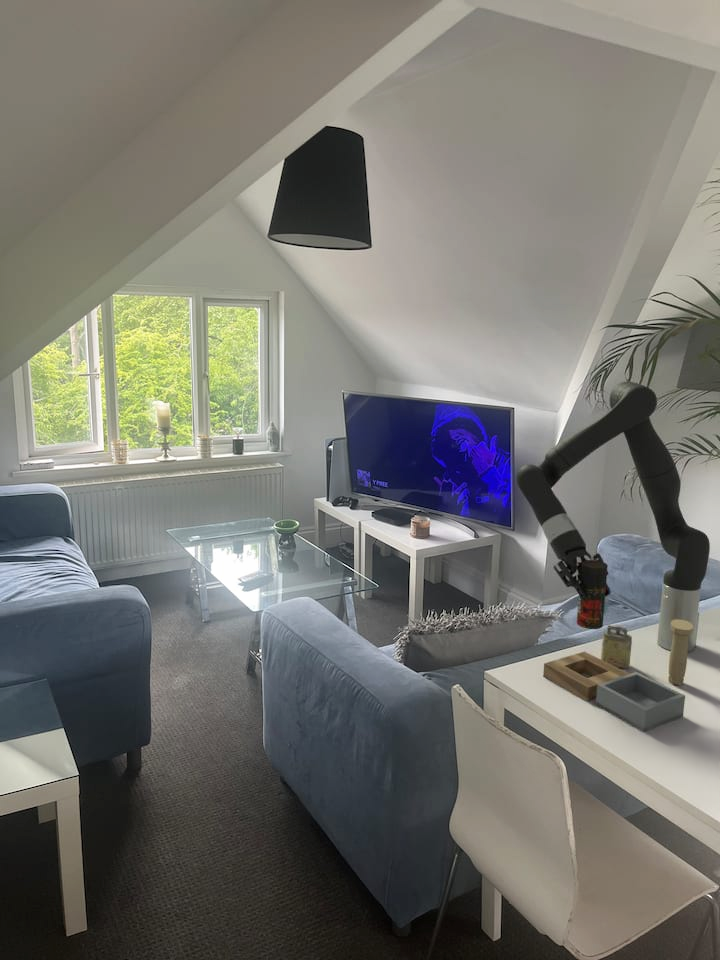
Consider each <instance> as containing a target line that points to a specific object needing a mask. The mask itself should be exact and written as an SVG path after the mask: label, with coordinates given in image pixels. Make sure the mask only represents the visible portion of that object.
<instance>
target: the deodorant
mask: <svg viewBox="0 0 720 960" xmlns="http://www.w3.org/2000/svg"><path fill="white" fill-rule="evenodd" d="M607 571H608V564H607V563H606V562H605V561H603V562H601V561H595V560H585V561H582V562H581V578H582V582H583V583H582V584H584V585H585V587H586V588H587V590H588V592H589V594H590V596H591V599H590V600H588V601H586V602H584V601H583V600H582V599H581V598H580V596H579V595H578V601H577V614H576V625H577V626H579V627H580V628H583V629H588V630H600V629H601V628H603V627H604V613H605V602H606V597H605V592H606V583H607V579H608V578H607V577H608V575H607Z"/></svg>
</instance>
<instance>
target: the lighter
mask: <svg viewBox="0 0 720 960" xmlns="http://www.w3.org/2000/svg"><path fill="white" fill-rule="evenodd" d="M612 630H614V631H612ZM622 632H623V633H622ZM602 635H603V636H602V641H601V653H600V654H601V655H600V659H601V660H603V661H605V662H607V663H609V664H611V665H613V666H615V667H617V668H619V669H621V668H622V669H628V668H630V667H631V654H632V653H631V652H632V645H633V640H632V639H633V636H632V635H630V634H628V630H627V628H625V627H622V626H621V625H616V626H613V625H607V629H606V631H603V634H602Z"/></svg>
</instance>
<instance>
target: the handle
mask: <svg viewBox="0 0 720 960" xmlns="http://www.w3.org/2000/svg"><path fill="white" fill-rule="evenodd" d="M670 629H671V630H672V631H673V632H674V633H673V640H672V646H671V650H670V652H669V658H668V682H669V683H671V684H672V685H673V684H674V685H676V686H681V685H682V684H683V683H684V680H685V679H684V678H685V676H686V675H685V674H686V671H687V665H688V664H687V663H688V652H687V648H688V635H689V634H692V632H693V625H692V624H691V623H690V622H688V621H685V620H679V619H675V620H672V621H671V625H670ZM674 685H673V686H674Z"/></svg>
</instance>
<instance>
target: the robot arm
mask: <svg viewBox="0 0 720 960" xmlns="http://www.w3.org/2000/svg"><path fill="white" fill-rule="evenodd" d="M657 398H658V397H657V395H656V393H655V392H654V390H653V389H651V388H649V387H648V386H646V385H643V384H640V383H638V382H633V381H622V382H619V383H617V384H616V385H615V386H614V387H613V388H612V390H611V391H610V394H609V406H610V410H608V412H606V413H605V414H604V415H603V416H602V417H600V418H598V419H597V420H595V421H593V422H592V423H590V424H588V425H585V426H583V427H581V428H580V429H577V430H576V431H574V432H572V433H570V434H569V435H568V436H566V437H565V438H563V439H562V440H561V441H559V442H558V443H557V444H556V445H554V446H553V447H551V448H550V450H548V451H547V452H546V453H545V457H544V459H543V461H542V462H541V463H539V465H535V464H524V465H523V466H521V467H520V468H519V470H518V471H517V472H516V477H515V478H516V479H515V481H516V484H517V486H518V489H520V491H521V493H522V495H523V496H524V497H525V499H526V501H527V502H528V504H529V506H530V507H531V509H532V512H533V513H534V516H535V517H536V519H537V522H538V524H539V525H540V527H541V529H542V531H543V534H544V537H545V539H546V540H547V542H548V543H549V545H550V547H551V549H552V551H553V552H554V555H555V556H556V558H557V559H558V560H560V561H558V562H557V563H556V564H555V565H554V566H553V569H554V570H555V572H556V574H557V575H558V577H559V578H560V579H561V581H562V582H563V584H564V585H565V587H567V588H570V587H571V588H573V589H575V590H576V592H577V594H578V597H579V596H580V598H581V599H582V600H583V601H584V602H586V601H588V600H590V599H591V596H590V594H589V592H588V590H587V588H586V587H585V585H584V584H582V583H583V582H582V578H581V562H582V561H585V560H595V561H601V562H604V560H603V558H602V556H601V554H600V553H599V552H597V553H595V554H592V555H591V554H590V553H589V552H588V551H587V548H586V547H587V543H586V541H585V540H584V539H583V537H582V535H581V533H580V532H579V529H578V528H577V526H576V525H575V523H574V521H573V520H572V518H571V517H570V515H569V514H568V512H567V511H566V509H565V507H564V505H563V504H562V502H561V501H560V500H559V498H558V497H557V496H556V493H554V491H553V489H552V488H553V487H554V486H555V485H556V484H557V483H558V482H559V481H560V480H561V479H562V478H563V476H564V475H565V474H566V473H568V471H570V470H571V469H573V468H574V467H576V465H578V464H579V463H580V462H582V461H583V460H584V459H586V458H587V457H588V456H589V455H591V454H592V453H593V452H595V451H596V450H598V449H599V448H601V447H602V446H603V445H605V444H606V443H608V442H609V441H611V440H613V439H615V438H616V437H618V436H619V435H621V434H623V435H624V437H625V440H626V442H627V446H628V449H629V451H630V455H631V459H632V460H633V461H632V462H633V464H634V466H635V469H636V473H637V476H638V477H639V481H640V484H641V486H642V488H643V491H644V493H645V496H646V498H647V501H648V504H649V506H650V509H651V511H652V514H653V517H654V520H655V525H656V529H657V532H658V533H657V534H658V536H659V541H660V543H661V547H662V550H664V552H665V553H666V554H668V555H669V556H670V557H672V558H675V564H674V568H673V569H669V570H667V571H666V572H665V573H664V575H663V582H662V589H661V590H662V591H661V599H660V609H659V610H660V611H659V621H658V627H657V628H658V631H657V640H656V643H657V645H659V646H660V647H661V648H664V649H666V650H668V651H671V646H672V640H673V633H674V632H673V631H672V630H671V629H670V625H671V621H672V620H675V619H679V620H685V621H688V622H690V623H691V624H692V625H693V632H692V634H689V635H688V648H687V653H688V652H691V651H693V650H694V649H695V646H696V645H697V639H698V629H699V620H700V612H699V607H700V595H701V587H702V583H703V581H704V579H705V577H706V574H707V570H708V569H707V568H708V563H709V558H710V552H711V551H710V549H711V548H710V547H711V544H710V540H709V537H708V535H707V534H706V533H705V532H703V531H701V530H700V529H697V528H695V527H693V526H690V525H688V523H687V522H686V520H685V518H684V516H683V513H682V511H681V507H680V503H679V500H680V498H679V497H680V493H681V478H680V474H679V471H678V469H677V466H676V463H675V461H674V459H673V457H672V454H671V453H670V451H669V449H668V447H667V446H666V444H665V443H664V442H663V440H662V439H661V437H660V436H659V434H658V433H657V431H656V429H655V427H654V426H653V423H652V422H651V421H652V420H651V418H650V417H651V416H652V415H653V414H654V412H655V410H656V408H657V404H658V399H657ZM607 576H609V571H608V570H607ZM610 595H611V587H610V586H609V585H608V582H606V592H605V598H606V597H608V596H610Z"/></svg>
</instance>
